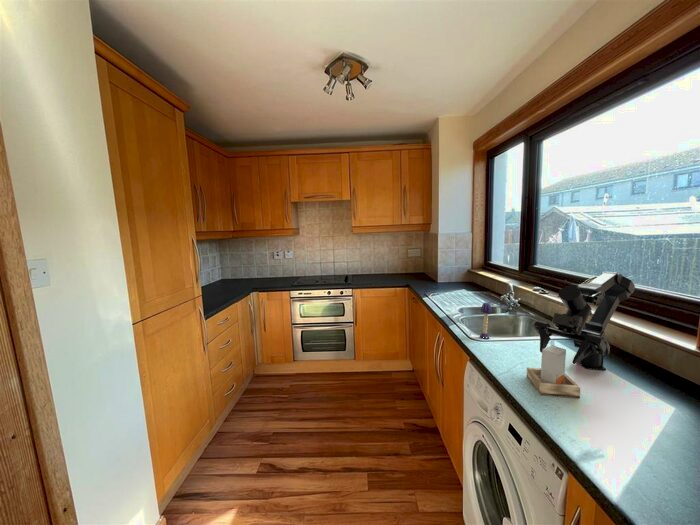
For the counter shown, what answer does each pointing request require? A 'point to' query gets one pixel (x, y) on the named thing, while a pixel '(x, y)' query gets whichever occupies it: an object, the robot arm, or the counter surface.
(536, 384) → the wooden tray
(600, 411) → the counter surface
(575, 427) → the counter surface
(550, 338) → the robot arm
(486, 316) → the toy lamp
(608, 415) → the counter surface
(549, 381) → the skincare box
